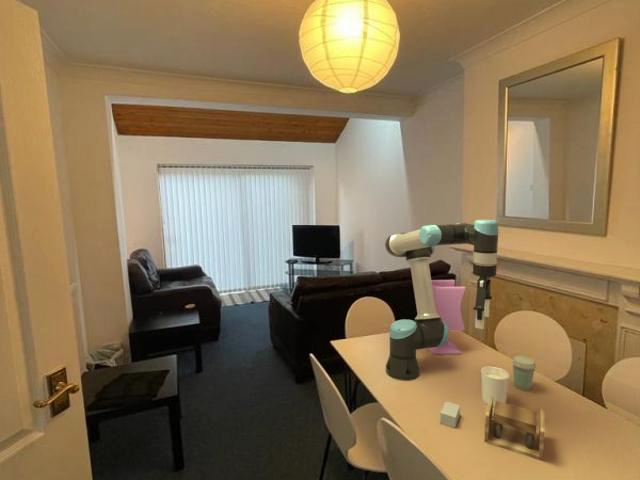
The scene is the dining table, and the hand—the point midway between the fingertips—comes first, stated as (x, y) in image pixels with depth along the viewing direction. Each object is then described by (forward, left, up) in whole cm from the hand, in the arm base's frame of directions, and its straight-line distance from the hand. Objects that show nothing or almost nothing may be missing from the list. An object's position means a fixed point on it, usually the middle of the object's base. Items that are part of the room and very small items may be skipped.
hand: (482, 322), depth 124 cm
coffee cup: (+13, +27, -35) cm, 46 cm away
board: (+12, -10, -28) cm, 32 cm away
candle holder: (+4, +10, -35) cm, 37 cm away
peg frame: (+12, -10, -35) cm, 38 cm away
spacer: (-8, -10, -35) cm, 37 cm away
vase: (-24, +48, -35) cm, 64 cm away
